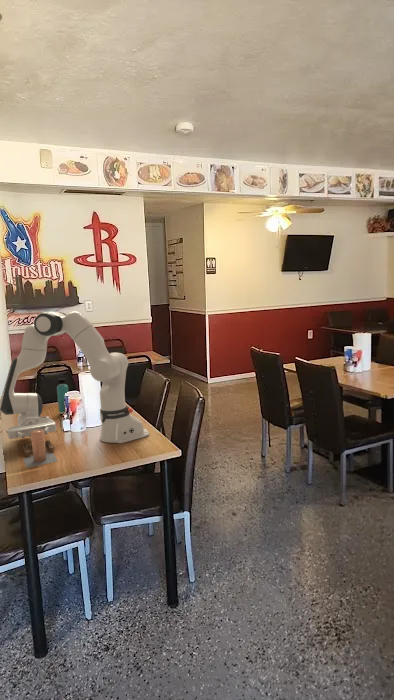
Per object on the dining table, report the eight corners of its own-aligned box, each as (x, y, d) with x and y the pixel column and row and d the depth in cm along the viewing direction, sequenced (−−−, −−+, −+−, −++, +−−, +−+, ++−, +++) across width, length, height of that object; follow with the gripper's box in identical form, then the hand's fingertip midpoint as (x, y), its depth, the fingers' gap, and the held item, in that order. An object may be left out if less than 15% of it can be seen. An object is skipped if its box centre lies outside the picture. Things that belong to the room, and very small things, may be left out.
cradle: (49, 445, 208) (49, 440, 207) (53, 453, 198) (53, 447, 198) (23, 450, 203) (23, 445, 203) (26, 458, 193) (26, 452, 193)
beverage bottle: (67, 415, 257) (64, 380, 254) (56, 415, 258) (53, 380, 255) (73, 412, 263) (69, 377, 260) (62, 412, 265) (59, 377, 262)
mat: (52, 453, 197) (52, 452, 197) (57, 462, 187) (57, 461, 187) (23, 459, 192) (22, 458, 192) (26, 469, 181) (26, 467, 181)
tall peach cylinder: (45, 456, 193) (42, 428, 191) (48, 462, 186) (45, 433, 184) (32, 459, 191) (30, 430, 189) (35, 465, 183) (32, 436, 182)
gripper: (4, 423, 205) (7, 431, 192) (52, 415, 214) (57, 423, 202) (6, 437, 206) (9, 446, 193) (53, 428, 215) (59, 437, 202)
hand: (34, 434), depth 198 cm, fingers open, 8 cm apart
